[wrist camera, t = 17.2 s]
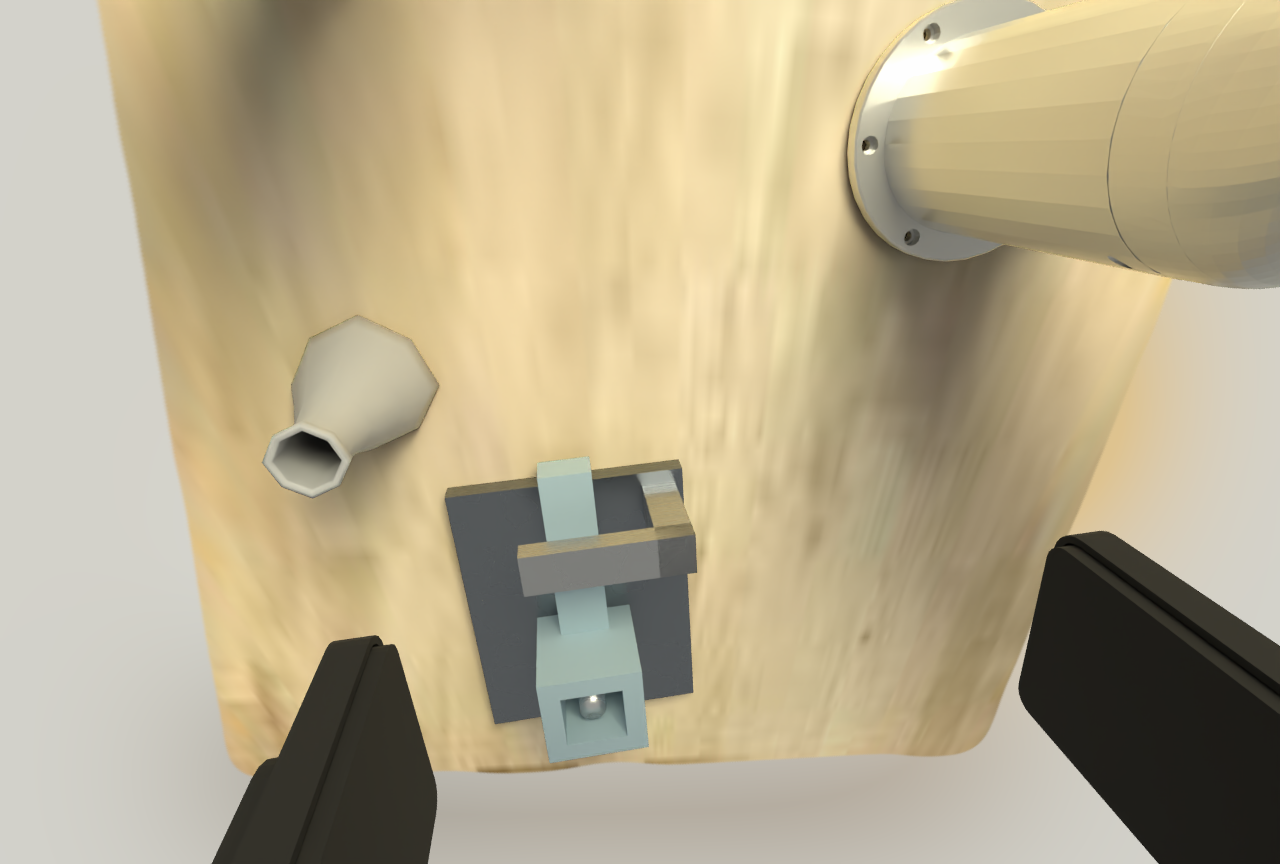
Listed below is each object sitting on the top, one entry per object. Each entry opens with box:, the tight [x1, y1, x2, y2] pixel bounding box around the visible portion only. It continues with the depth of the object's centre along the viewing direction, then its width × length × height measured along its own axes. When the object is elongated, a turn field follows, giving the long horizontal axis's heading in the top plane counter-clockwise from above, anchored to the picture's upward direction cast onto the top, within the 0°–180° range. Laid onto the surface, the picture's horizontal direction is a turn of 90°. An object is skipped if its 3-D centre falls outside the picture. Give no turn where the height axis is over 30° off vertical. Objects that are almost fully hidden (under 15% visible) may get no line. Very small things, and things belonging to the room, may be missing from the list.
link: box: [536, 457, 649, 763], centre depth 38 cm, size 17×6×6 cm, turn 4°
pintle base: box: [445, 460, 697, 724], centre depth 40 cm, size 14×18×7 cm
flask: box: [262, 315, 439, 498], centre depth 31 cm, size 7×7×10 cm
